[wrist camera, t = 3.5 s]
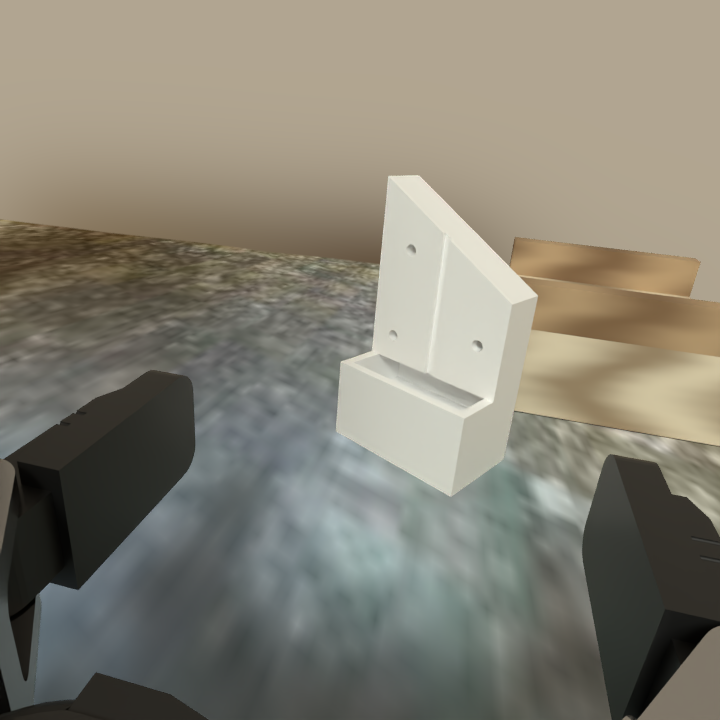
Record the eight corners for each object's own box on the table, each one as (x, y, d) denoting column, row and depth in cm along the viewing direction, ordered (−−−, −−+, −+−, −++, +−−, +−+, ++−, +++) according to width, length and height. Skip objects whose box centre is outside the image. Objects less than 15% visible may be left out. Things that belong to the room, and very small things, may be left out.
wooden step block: (495, 407, 26) (519, 282, 24) (497, 330, 36) (514, 237, 34) (729, 448, 24) (781, 316, 22) (664, 355, 34) (695, 258, 32)
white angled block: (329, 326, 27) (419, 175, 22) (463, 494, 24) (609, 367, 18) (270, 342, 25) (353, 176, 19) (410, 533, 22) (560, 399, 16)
